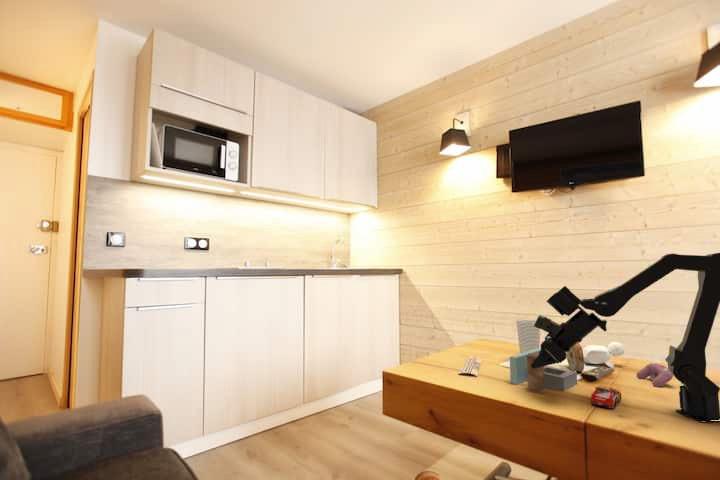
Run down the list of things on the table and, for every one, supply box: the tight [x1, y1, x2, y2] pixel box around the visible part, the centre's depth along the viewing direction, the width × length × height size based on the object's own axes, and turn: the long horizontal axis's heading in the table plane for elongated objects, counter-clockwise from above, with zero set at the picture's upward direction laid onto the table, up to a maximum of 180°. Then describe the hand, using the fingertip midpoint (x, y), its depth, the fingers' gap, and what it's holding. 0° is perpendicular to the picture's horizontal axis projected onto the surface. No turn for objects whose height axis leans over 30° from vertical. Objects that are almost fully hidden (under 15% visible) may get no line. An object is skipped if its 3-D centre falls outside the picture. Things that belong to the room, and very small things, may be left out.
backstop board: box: [509, 347, 541, 386], centre depth 115 cm, size 2×20×8 cm, turn 130°
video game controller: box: [636, 362, 674, 388], centre depth 110 cm, size 10×5×7 cm, turn 169°
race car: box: [590, 385, 622, 409], centre depth 94 cm, size 13×5×4 cm, turn 134°
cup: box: [515, 319, 541, 354], centre depth 135 cm, size 8×8×16 cm
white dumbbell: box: [582, 341, 626, 369], centre depth 131 cm, size 8×8×15 cm
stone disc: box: [566, 342, 585, 372], centre depth 124 cm, size 10×4×10 cm, turn 163°
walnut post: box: [527, 353, 546, 394], centre depth 103 cm, size 4×4×10 cm
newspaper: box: [458, 356, 483, 377], centre depth 127 cm, size 24×7×2 cm, turn 157°
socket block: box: [544, 365, 578, 392], centre depth 109 cm, size 10×10×4 cm
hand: (533, 363), depth 103 cm, fingers open, 9 cm apart
